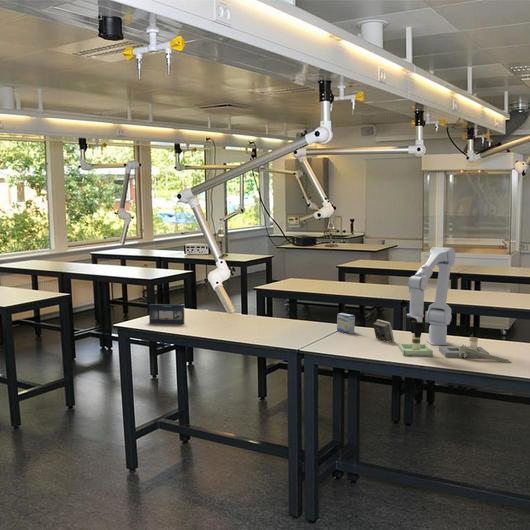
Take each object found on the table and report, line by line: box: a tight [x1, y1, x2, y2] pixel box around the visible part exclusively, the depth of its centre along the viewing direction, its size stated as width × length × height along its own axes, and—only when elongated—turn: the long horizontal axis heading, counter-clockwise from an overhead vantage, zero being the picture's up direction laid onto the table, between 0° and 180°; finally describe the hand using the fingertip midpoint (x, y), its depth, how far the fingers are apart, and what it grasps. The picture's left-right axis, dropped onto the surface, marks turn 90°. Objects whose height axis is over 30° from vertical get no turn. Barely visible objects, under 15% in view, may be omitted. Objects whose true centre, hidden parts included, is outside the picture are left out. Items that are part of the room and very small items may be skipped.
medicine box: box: [336, 312, 356, 334], centre depth 299 cm, size 8×4×9 cm, turn 42°
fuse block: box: [438, 345, 490, 359], centre depth 257 cm, size 11×18×2 cm, turn 88°
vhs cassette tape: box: [148, 303, 185, 325], centre depth 316 cm, size 18×3×10 cm, turn 83°
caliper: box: [458, 344, 512, 364], centre depth 248 cm, size 20×1×6 cm, turn 71°
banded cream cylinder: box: [411, 333, 421, 350], centre depth 259 cm, size 3×3×7 cm
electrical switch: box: [372, 319, 395, 342], centre depth 282 cm, size 9×5×9 cm, turn 29°
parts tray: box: [397, 343, 434, 357], centre depth 260 cm, size 12×12×2 cm
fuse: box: [468, 336, 479, 350], centre depth 257 cm, size 3×3×7 cm
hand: (415, 335), depth 259 cm, fingers open, 7 cm apart
